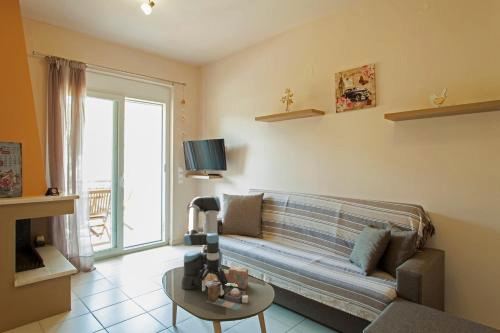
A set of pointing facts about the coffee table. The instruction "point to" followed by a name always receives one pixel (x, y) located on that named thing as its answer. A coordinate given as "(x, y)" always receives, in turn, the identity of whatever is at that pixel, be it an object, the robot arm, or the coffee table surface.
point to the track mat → (227, 304)
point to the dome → (235, 292)
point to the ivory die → (245, 298)
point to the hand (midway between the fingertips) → (212, 292)
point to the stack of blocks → (237, 276)
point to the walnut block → (212, 293)
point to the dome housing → (234, 299)
